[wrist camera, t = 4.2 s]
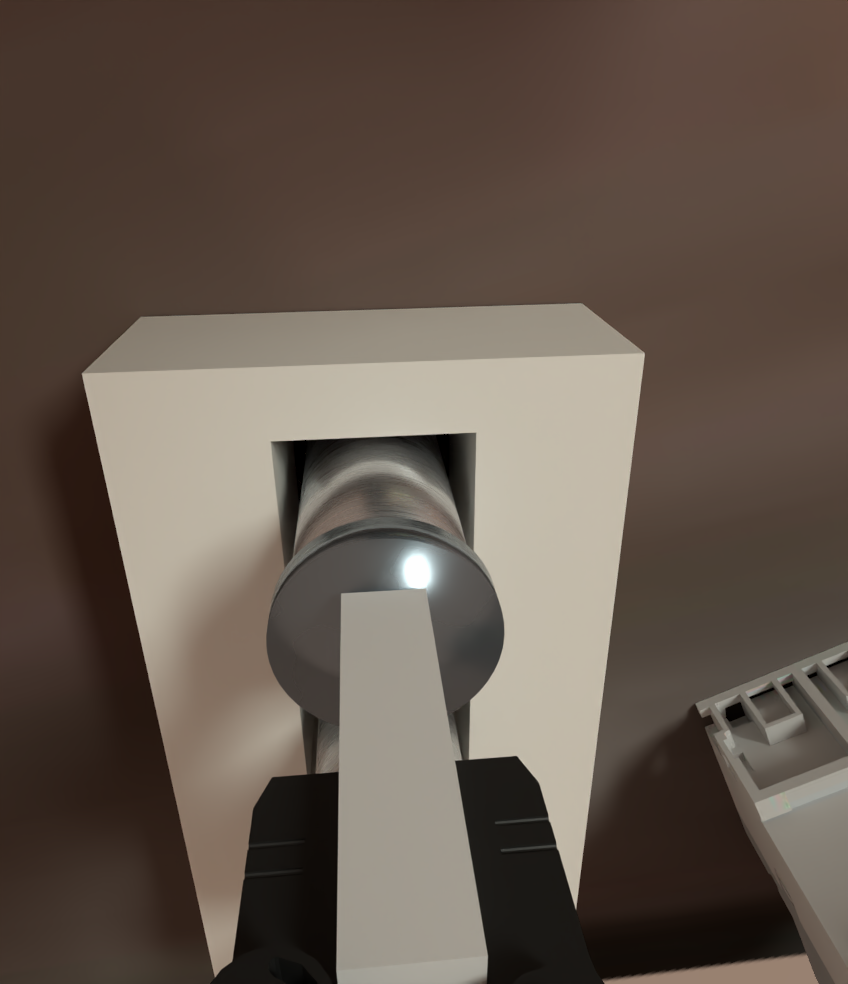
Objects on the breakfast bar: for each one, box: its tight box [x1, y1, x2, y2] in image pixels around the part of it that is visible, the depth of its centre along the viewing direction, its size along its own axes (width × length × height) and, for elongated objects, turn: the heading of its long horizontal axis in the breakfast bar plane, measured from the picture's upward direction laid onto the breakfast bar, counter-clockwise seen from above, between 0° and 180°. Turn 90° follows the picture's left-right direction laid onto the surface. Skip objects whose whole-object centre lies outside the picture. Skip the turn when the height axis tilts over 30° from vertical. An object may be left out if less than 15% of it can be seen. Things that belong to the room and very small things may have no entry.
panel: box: [82, 303, 645, 977], centre depth 23 cm, size 21×12×5 cm, turn 1°
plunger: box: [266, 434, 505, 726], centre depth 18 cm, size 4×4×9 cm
